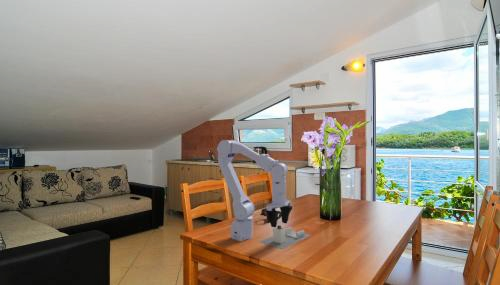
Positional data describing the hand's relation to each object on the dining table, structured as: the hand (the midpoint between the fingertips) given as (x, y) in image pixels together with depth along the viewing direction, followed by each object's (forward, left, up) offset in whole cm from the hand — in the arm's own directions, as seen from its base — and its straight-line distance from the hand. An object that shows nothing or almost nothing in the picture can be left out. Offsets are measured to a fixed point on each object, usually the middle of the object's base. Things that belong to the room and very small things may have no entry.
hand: (279, 224), depth 123 cm
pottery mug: (+24, +23, -8) cm, 34 cm away
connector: (0, 0, -7) cm, 7 cm away
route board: (+5, 0, -8) cm, 9 cm away
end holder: (+11, 0, -8) cm, 14 cm away
